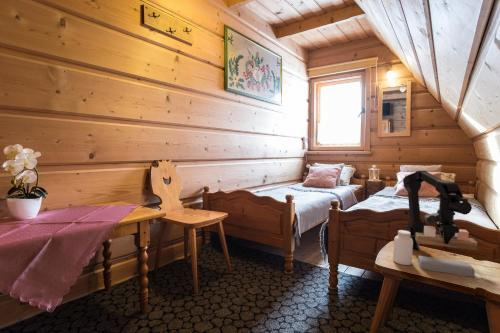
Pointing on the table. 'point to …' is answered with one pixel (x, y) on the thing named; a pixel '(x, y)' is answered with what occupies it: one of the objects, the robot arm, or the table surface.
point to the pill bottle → (403, 248)
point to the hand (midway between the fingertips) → (444, 241)
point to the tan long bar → (439, 241)
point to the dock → (446, 266)
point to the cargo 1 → (429, 231)
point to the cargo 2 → (462, 235)
